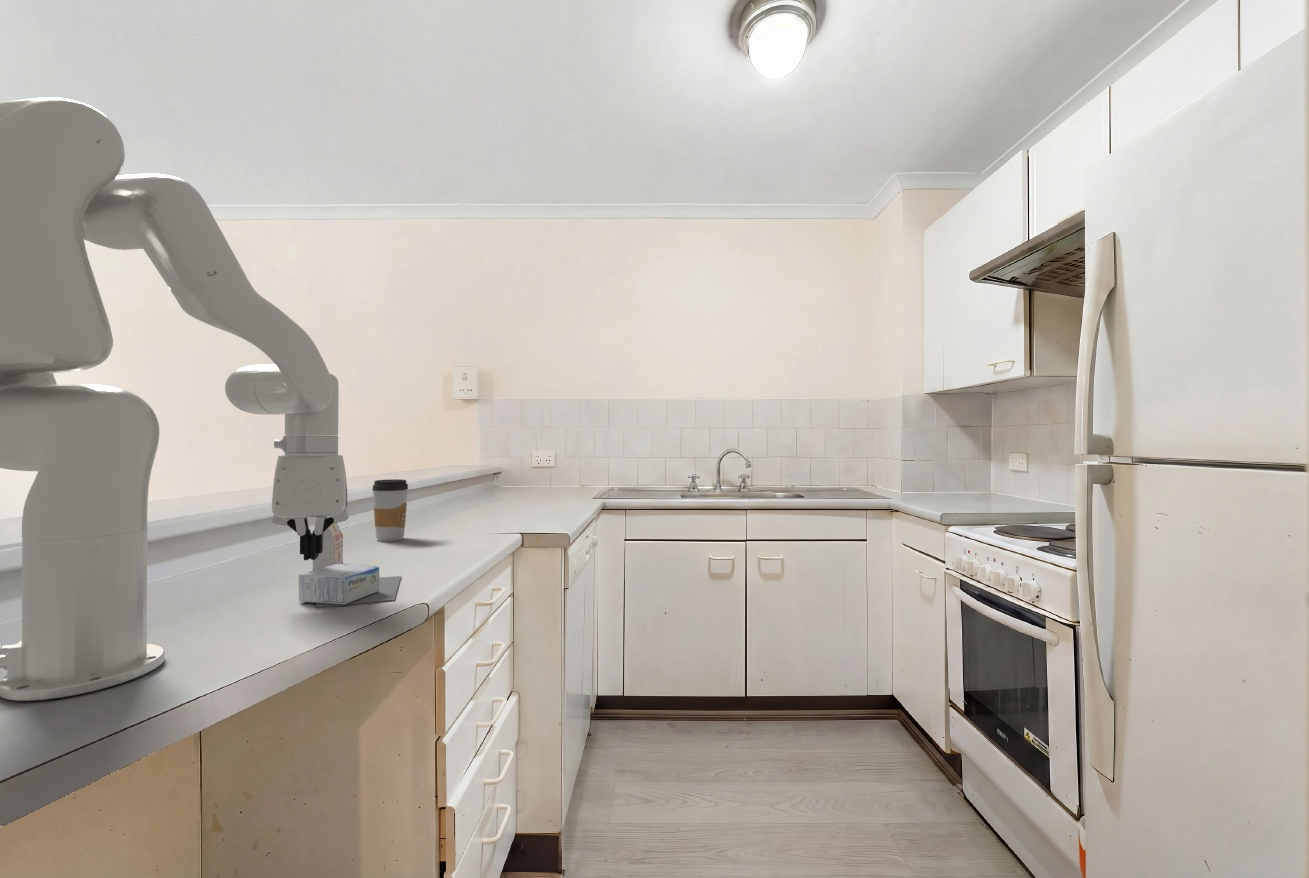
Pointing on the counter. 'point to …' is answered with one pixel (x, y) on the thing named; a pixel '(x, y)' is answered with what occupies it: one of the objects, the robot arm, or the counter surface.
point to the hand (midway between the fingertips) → (311, 558)
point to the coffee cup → (390, 509)
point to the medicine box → (338, 583)
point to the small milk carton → (330, 548)
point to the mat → (386, 593)
